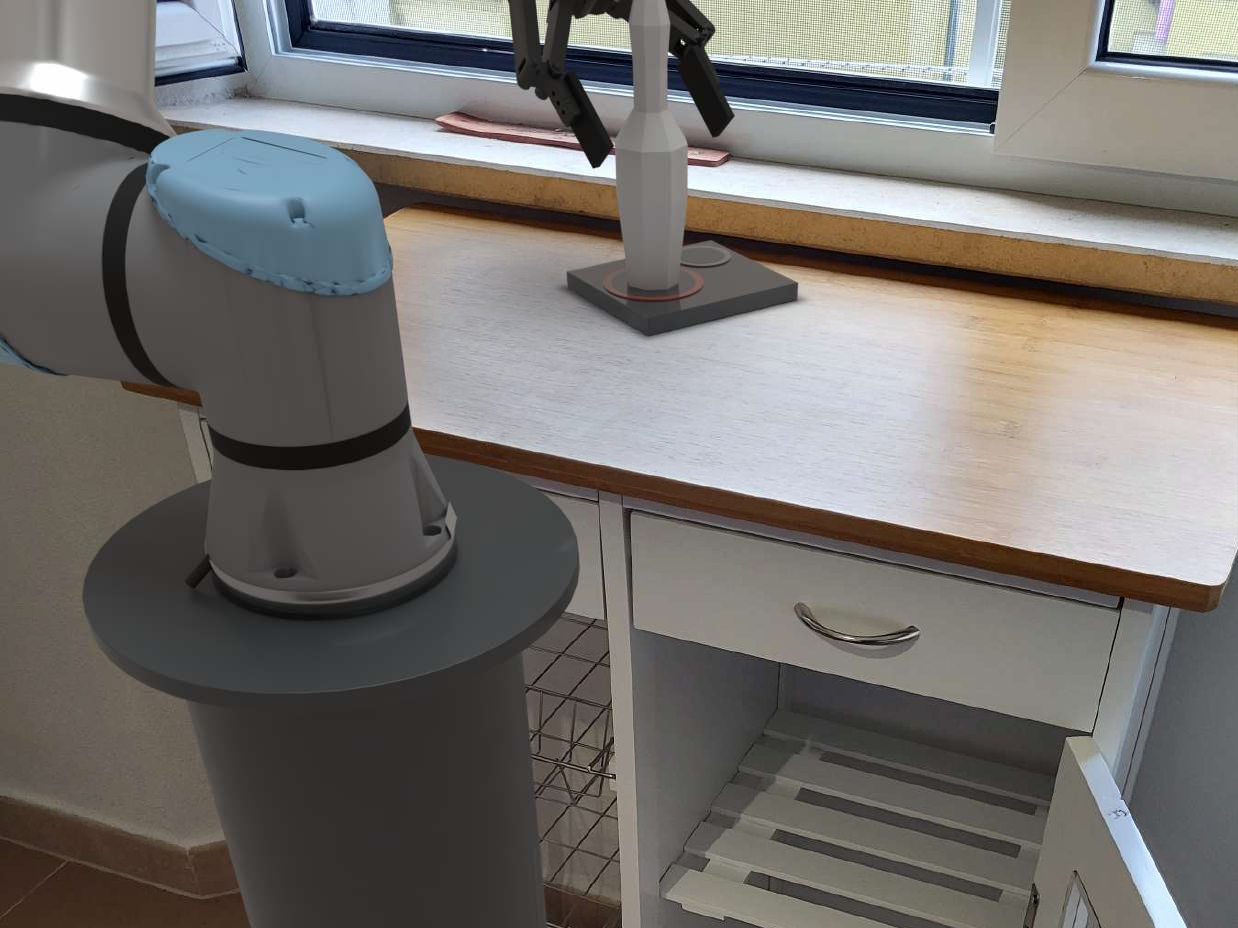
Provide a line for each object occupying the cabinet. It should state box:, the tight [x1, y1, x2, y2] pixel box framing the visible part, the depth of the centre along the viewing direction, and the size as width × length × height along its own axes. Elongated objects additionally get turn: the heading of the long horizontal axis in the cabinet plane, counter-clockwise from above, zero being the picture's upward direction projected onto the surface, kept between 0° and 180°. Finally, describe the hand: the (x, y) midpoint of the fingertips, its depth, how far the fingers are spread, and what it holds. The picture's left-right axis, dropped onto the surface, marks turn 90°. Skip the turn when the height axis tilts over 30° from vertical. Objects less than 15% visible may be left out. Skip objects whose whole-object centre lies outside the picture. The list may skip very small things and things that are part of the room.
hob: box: [566, 239, 799, 337], centre depth 128 cm, size 16×14×2 cm
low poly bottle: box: [614, 0, 689, 290], centre depth 119 cm, size 6×6×22 cm
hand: (665, 142), depth 118 cm, fingers open, 13 cm apart
